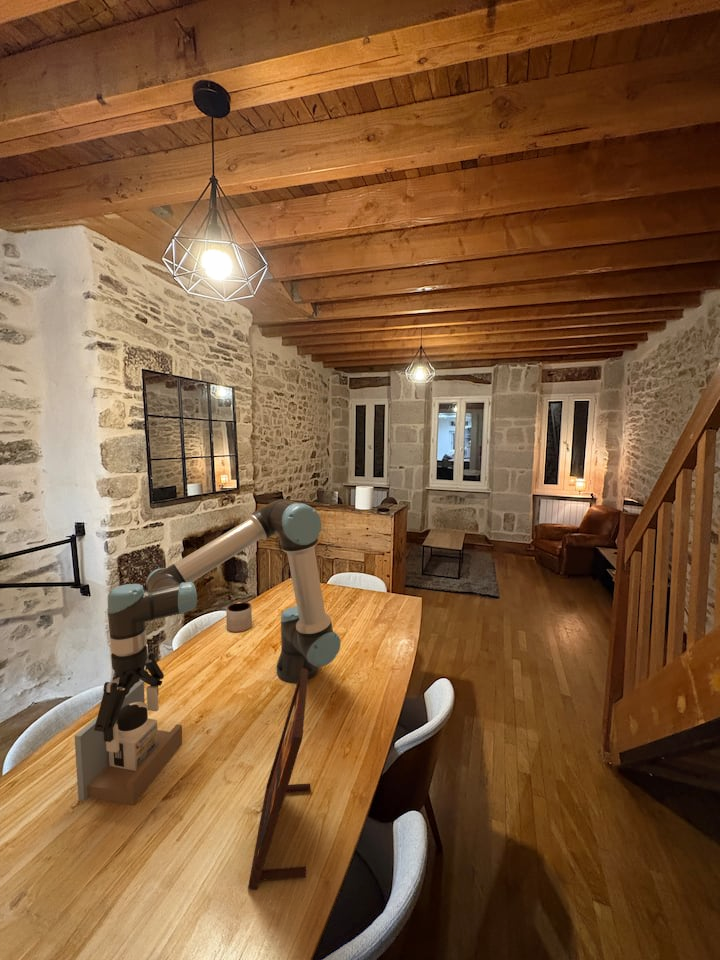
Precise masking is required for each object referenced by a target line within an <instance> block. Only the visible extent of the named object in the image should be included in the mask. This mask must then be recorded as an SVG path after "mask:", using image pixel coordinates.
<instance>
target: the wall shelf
mask: <svg viewBox="0 0 720 960" xmlns="http://www.w3.org/2000/svg"><path fill="white" fill-rule="evenodd" d="M134 702H143V703H145V702H146V701H145V682H142V681H139V682H138V683H136V684H135V685H134V686H133V687H132V688H131V689H130V691H129V693H128V694H127V695H126V696H125V699H124V702H123V704H122V707H121V709H122V708H123V707H124V706H126V705H128V704H131V703H134ZM145 704H146V703H145ZM121 709H120V710H121ZM97 717H98V715H97V716H96V717H95V718H94V719H92V720H91V721H90V722H89V723H88V724H86V725H85V726H84V727H83V728H82V729H80V730H79V731H78V732H77V733H76V734H75V735H74V749H75V751H74V752H75V765H76V780H77V798H78V799H77V800H78V801H79V802H85V801H87V800H88V798H89V799H92V800H93V799H95V800H100V801H104V802H105V801H106V802H112V803H116V804H117V803H118V804H123V805H130V806H135V804H136V803H137V802H138V800H140V798H141V797H142V795H144V793H145V792H146V791H147V789H148V788H149V787H150V785H151V784H152V783H153V782H154V780H155V779H156V778H157V776H158V775H160V772H161V771H162V770H163V769H164V768H165V767H166V765H167V764H168V763H169V761H170V760H171V759H172V757H174V755H175V754H176V753H177V751H178V750H179V749H180V747H181V746H182V745H183V725H182V724H178V723H177V724H176V725H175V726H174V727H173V728H172V729H171V730H170V731H167V730H158V729H157V731H158V746H157V748H156V749H155V750H154V751H153V752H152V753H151V755H150V756H149V757H148V758H147V759H146V760H145V761H144V763H143V764H142V765H141V766H140V767H139V768H138V770H137V771H133V770H128V769H123V768H117V767H112V766H110V765H109V751H107V749H106V741H104V733H103V732H100V731H95V730H94V728H95V724H96V720H97ZM115 724H117V720H116V722H115Z"/></svg>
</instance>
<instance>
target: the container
mask: <svg viewBox="0 0 720 960" xmlns="http://www.w3.org/2000/svg"><path fill="white" fill-rule="evenodd" d="M148 712H149V710H148V706H147V703H143V702H134V703H131V704H128V705H126V706H124V707H123V708H122V709H121V710H120V712H119V714H118V717H117V724H118V736H119V751H118V752H117V753H116V752H109V765H110V766H112V767H117V768H123V769H128V770H133V771H137V770H138V768H139V767H140V766H141V765H142V764H143V763H144V761H145V760H146V759H147V758H148V757H149V756H150V755H151V753H152V752H153V751H154V750H155V749H156V748H157V746H158V731H157V730H158V719H154V718H149V716H148V715H149V714H148Z"/></svg>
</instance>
